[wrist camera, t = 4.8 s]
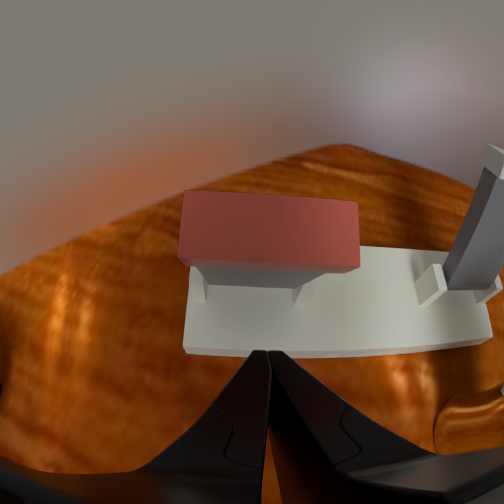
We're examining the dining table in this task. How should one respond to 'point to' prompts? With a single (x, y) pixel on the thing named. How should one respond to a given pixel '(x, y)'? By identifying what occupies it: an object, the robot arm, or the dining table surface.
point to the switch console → (342, 311)
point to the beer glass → (471, 422)
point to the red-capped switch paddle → (267, 238)
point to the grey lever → (480, 231)
